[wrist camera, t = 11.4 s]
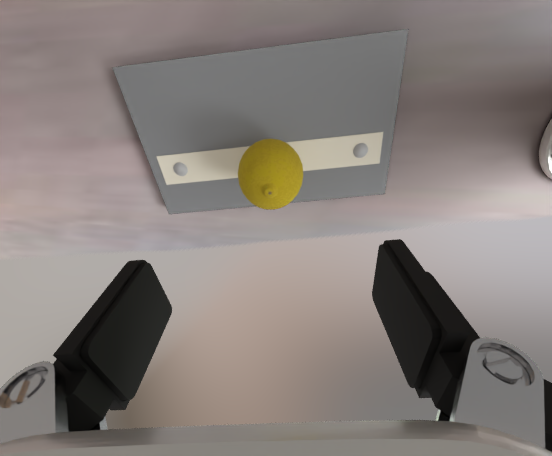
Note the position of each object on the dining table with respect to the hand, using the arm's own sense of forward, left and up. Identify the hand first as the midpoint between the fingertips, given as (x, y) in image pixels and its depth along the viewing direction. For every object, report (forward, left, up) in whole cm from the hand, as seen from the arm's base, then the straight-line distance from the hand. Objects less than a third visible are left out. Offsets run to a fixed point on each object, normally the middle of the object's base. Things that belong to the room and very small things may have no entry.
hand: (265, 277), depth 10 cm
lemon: (0, 0, -17) cm, 17 cm away
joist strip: (0, 0, -17) cm, 17 cm away
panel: (+1, -1, -18) cm, 18 cm away
